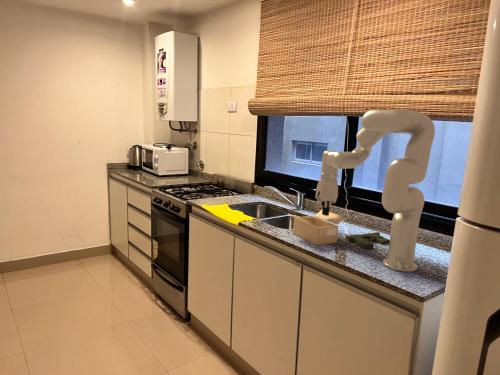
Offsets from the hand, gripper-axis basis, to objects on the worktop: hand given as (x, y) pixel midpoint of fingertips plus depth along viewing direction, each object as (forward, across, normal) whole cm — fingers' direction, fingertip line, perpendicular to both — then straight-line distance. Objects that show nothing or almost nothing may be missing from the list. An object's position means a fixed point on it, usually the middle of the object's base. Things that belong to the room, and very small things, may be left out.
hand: (325, 214), depth 176 cm
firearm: (+12, -18, +13) cm, 25 cm away
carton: (+11, +6, 0) cm, 12 cm away
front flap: (+1, +14, 0) cm, 14 cm away
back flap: (+1, -2, 0) cm, 3 cm away
